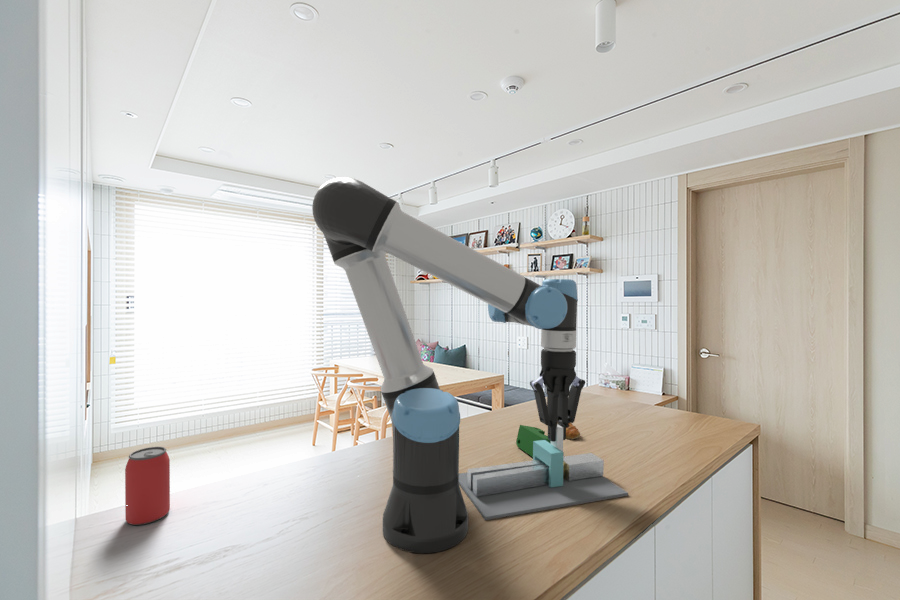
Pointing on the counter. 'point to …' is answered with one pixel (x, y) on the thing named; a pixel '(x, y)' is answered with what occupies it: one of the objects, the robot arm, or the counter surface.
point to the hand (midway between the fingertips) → (556, 454)
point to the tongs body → (572, 465)
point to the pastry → (572, 432)
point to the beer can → (147, 485)
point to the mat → (542, 496)
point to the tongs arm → (510, 480)
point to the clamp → (529, 438)
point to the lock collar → (550, 460)
